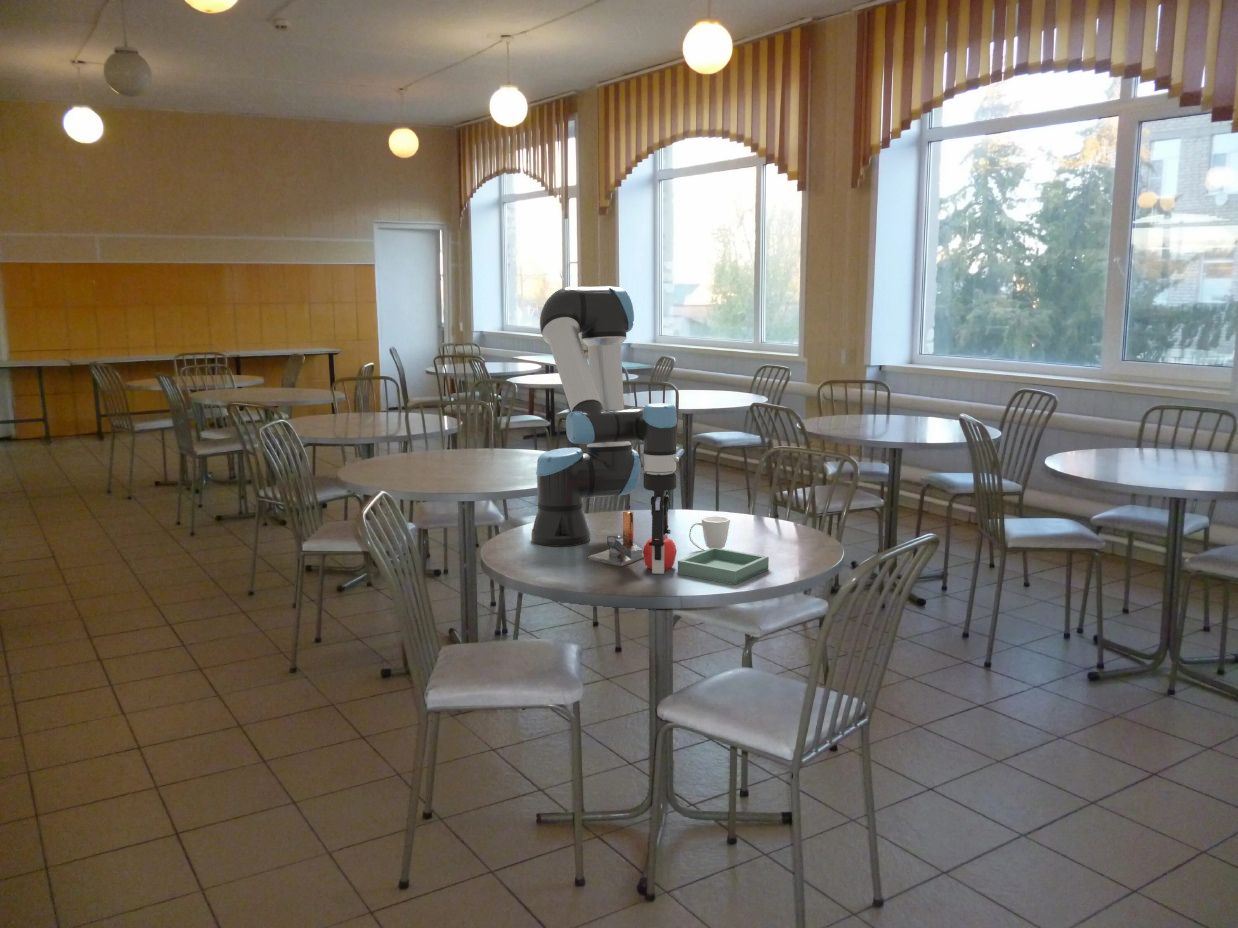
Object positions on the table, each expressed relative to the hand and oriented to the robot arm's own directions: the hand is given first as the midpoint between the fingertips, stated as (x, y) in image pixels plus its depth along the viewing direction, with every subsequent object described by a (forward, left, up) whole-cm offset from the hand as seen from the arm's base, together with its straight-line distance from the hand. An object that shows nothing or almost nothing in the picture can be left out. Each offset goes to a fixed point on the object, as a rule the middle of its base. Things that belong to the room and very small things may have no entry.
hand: (659, 567), depth 232 cm
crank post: (-13, +1, 0) cm, 13 cm away
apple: (0, 0, -1) cm, 1 cm away
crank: (-8, -2, +3) cm, 9 cm away
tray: (+13, +6, 0) cm, 15 cm away
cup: (+1, +20, 0) cm, 20 cm away
